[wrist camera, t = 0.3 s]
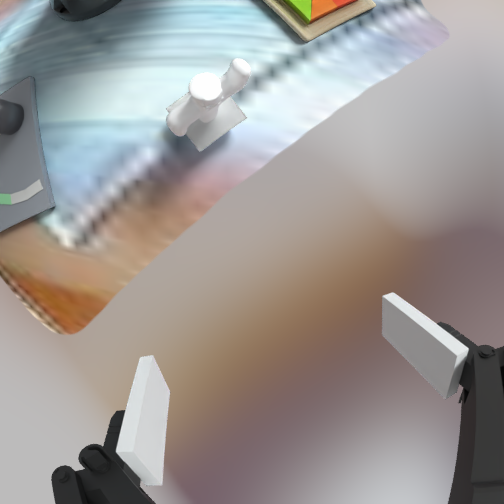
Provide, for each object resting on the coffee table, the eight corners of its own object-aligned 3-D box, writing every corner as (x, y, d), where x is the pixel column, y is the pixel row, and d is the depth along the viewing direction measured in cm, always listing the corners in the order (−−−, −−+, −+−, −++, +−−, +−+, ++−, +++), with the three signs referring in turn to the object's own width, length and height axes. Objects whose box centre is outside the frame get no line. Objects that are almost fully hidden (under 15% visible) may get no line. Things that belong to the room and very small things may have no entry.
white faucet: (162, 119, 36) (138, 90, 21) (218, 79, 35) (225, 32, 21) (194, 159, 38) (186, 150, 24) (250, 118, 38) (274, 89, 23)
